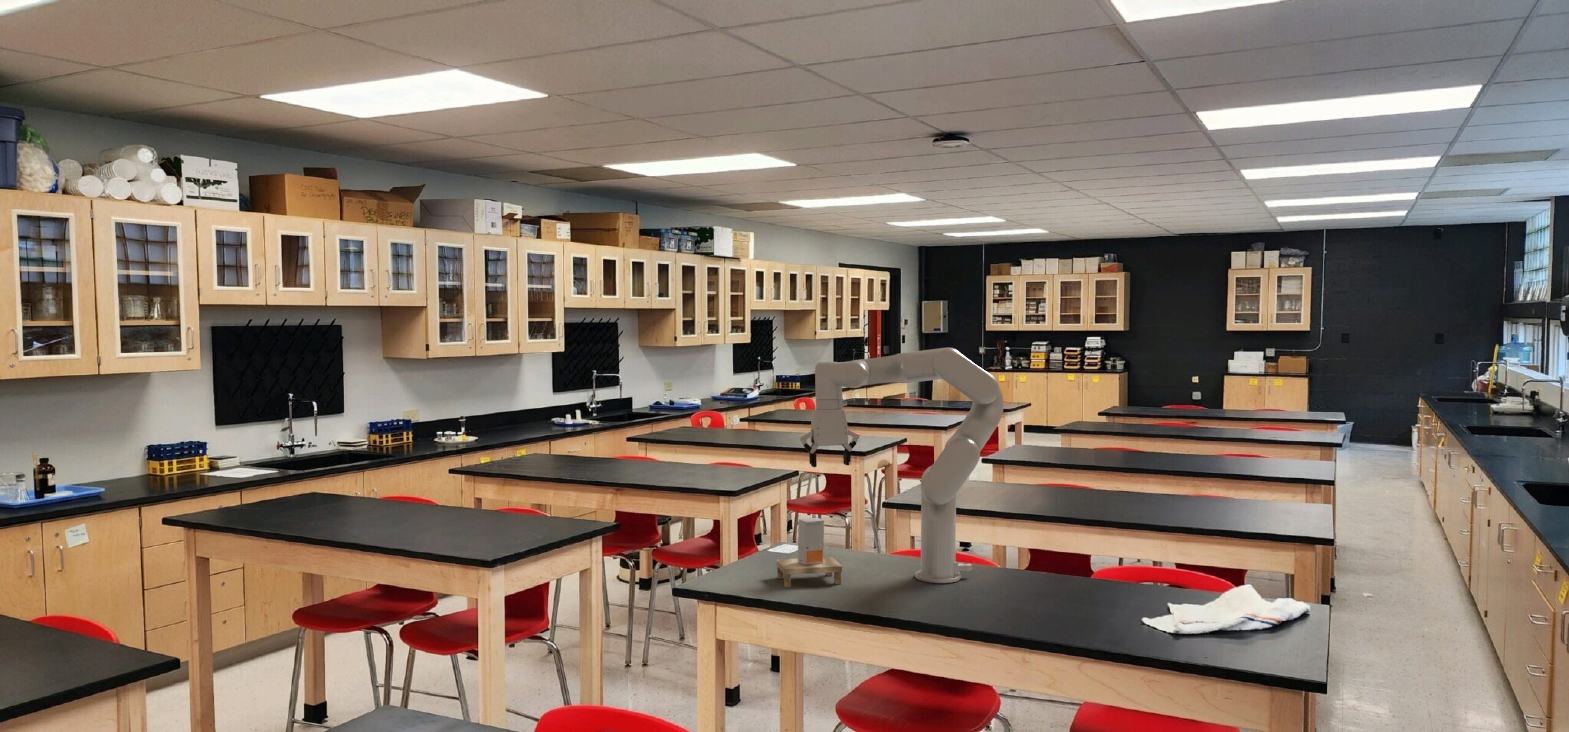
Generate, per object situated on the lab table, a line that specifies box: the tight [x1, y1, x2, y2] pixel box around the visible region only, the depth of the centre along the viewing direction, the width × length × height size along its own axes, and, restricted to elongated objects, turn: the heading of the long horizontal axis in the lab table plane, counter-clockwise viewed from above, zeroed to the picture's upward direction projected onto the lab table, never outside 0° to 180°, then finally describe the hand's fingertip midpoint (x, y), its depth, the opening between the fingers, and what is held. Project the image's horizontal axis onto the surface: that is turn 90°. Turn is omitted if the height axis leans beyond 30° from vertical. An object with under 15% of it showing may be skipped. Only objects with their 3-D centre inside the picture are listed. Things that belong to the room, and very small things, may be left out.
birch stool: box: [775, 556, 843, 588], centre depth 260 cm, size 16×11×5 cm
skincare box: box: [797, 517, 825, 565], centre depth 260 cm, size 6×4×12 cm
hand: (830, 465), depth 267 cm, fingers open, 9 cm apart
